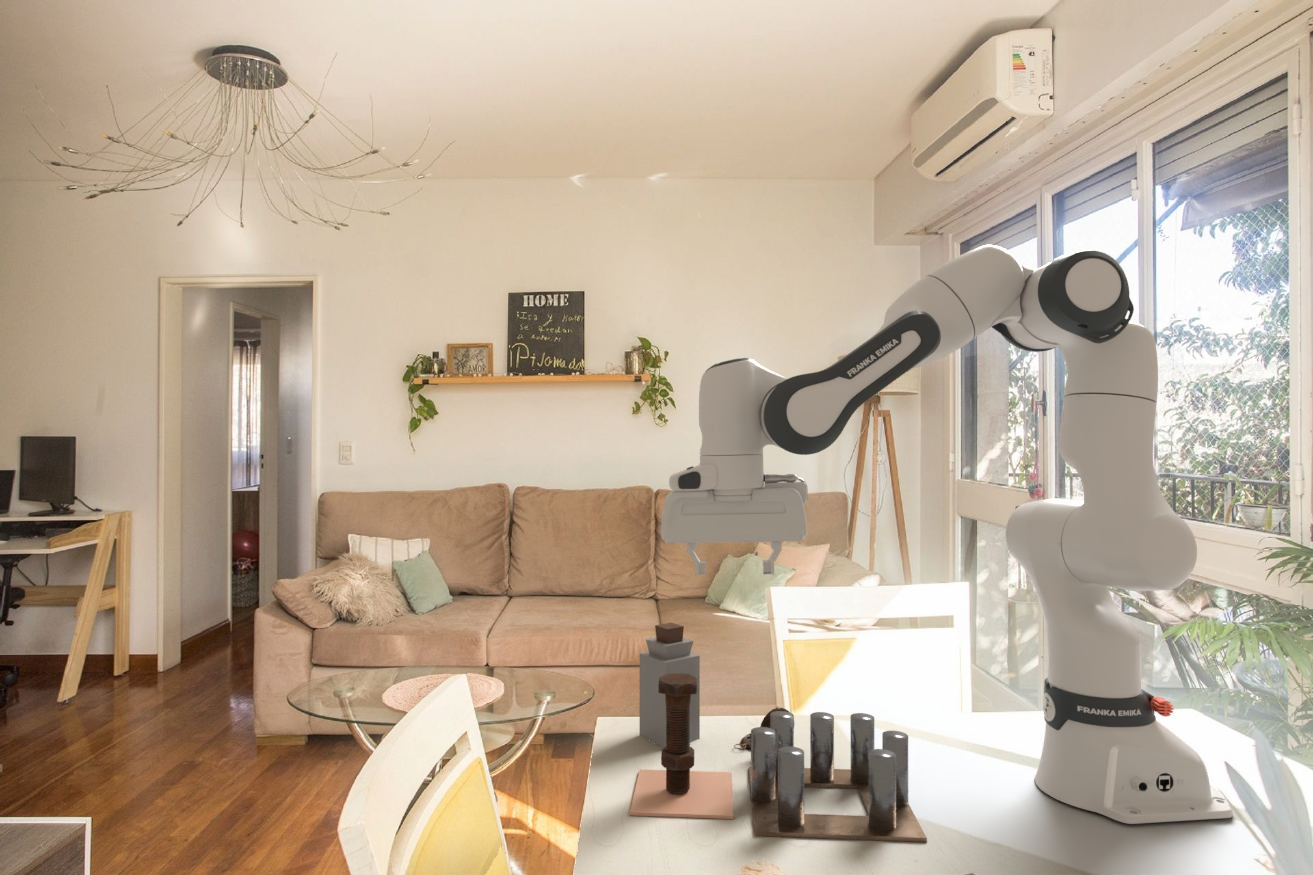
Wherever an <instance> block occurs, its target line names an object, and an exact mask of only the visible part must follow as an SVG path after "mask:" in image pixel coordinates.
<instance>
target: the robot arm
mask: <svg viewBox="0 0 1313 875" xmlns="http://www.w3.org/2000/svg"><path fill="white" fill-rule="evenodd" d="M1128 311H1129V313H1128ZM1127 314H1128V317H1127V318H1126V316H1127ZM1133 314H1134V304H1133V301H1132V300H1131V297H1130V286H1129V282H1128V278H1127V276H1126V274H1125V271H1124V269H1123V268H1122V266H1121V265H1120V263H1119V262H1118V261H1117V260H1116V259H1114V258H1113V257H1112V256H1111V255H1110V254H1107V253H1105V252H1103V251H1100V250H1090V249H1085V250H1084V249H1083V250H1076V251H1071V252H1068V253H1064V254H1062V255H1060V256H1058V257H1056V258H1054V259H1053V260H1052V261H1050V262H1048V263H1047V264H1044V265H1043V266H1041V267H1039V268H1037V269H1035V270H1033V269H1030V268H1026V267H1024V266H1023V265H1021V263H1020V262H1019V260H1018V259H1017V258H1016V257H1015V256H1014V254H1012V253H1011V252H1010V251H1009V250H1007V249H1006V248H1003V247H1001V246H998V245H993V244H986V245H980V246H978V247H976V248H973V249H971V250H968V251H967V252H964V253H962V254H961V255H958V256H956V257H954V258H953V259H950V260H949V261H947V262H945V263H943V264H941V265H939V267H937V268H935V269H934V270H932V271H931V272H929V273H928V274H926V275H925V276H923V277H921V278H920V279H919V280H918V281H916V282H915V283H913V284H912V285H911V286H910V287H908V288H907V289H906V290H905V291H904V292H903V293H902V294H901V295H900V296H899V297H897V299H895V301H893V303H891V305H890V306H889V307H888V308H887V309H886V312H885V314H884V319H883V320H884V321H883V324H882V326H881V327H880V328H879V329H878V330H877V331H876V332H875V334H873V335H872V336H871V337H870V338H869V339H867V340H866V341H865V342H863V343H861V344H860V345H859V346H857V347H856V348H855V349H853V350H852V351H850V352H849V353H848V354H846V355H845V356H843V357H842V358H840V359H839V360H838V361H836V362H835V363H834V364H832V365H829V367H827V368H825V369H822V370H819V371H815V372H809V373H803V374H799V375H795V376H792V377H787V376H784V375H781V374H778V373H777V372H774V371H772V370H770V369H768V368H766V367H764V366H763V365H761V364H760V363H758V362H757V360H755V359H753V358H750V357H741V358H740V357H739V358H733V359H727V360H724V361H721V362H717V363H715V364H712V365H711V366H709V367H708V368H707V369H706V370H705V372H703V374H702V376H701V379H700V384H699V392H698V394H699V395H698V425H699V428H700V432H701V439H702V440H701V446H700V449H699V464H698V465H695V466H693V465H692V466H689V467H687V468H686V469H683V470H680V471H677V472H674V473H673V474H671V475H670V476H669V478H668V485H669V488H670V490H672V491H670V492H669V493H668V494H667V496H666V497H665V500H664V503H663V507H662V508H663V509H662V515H661V526H660V527H661V528H660V531H661V532H660V534H661V535H660V536H661V539H662V540H663V542H665V543H666V544H686V552H687V554H688V555H689V557H690V559H691V560H692V562H693V563H694V564H695V565H694V568H695V569H694V570H695V571H694V572H695V576H706V575H707V569H706V568H707V563H706V562H707V561H706V560H700V558H699V557H698V555H697V553H696V552H697V550H698V544H709V543H710V544H715V543H716V544H717V543H725V544H726V543H767V542H768V543H769V542H770V544H769V545H770V549H771V550H772V552H771V554H770V556H769V558H768V559H762V574H763V575H775V562H776V561H777V559H778V557H779V555H780V554H781V552H782V550H783V549H782V547H783V546H782V542H784V543H785V542H802V541H803V540H804V539H805V538H806V536H807V535H808V526H807V516H806V512H805V505H806V503H807V501H808V497H809V496H808V490H809V489H808V484H807V483H806V481H805V480H804V479H803V478H802V477H799V476H797V475H796V474H794V473H787V474H775V473H773V474H764V447H766V446H769V445H771V446H775V447H776V448H777V447H778V448H780V449H783V450H784V451H785V452H788V453H791V454H795V455H803V456H805V455H806V456H808V455H813V454H817V453H820V452H822V451H824V450H826V449H827V448H829V447H830V446H831V445H833V444H834V442H836V440H837V439H838V438H839V436H840V435H841V434H842V432H843V430H844V429H845V427H846V426H847V424H848V422H849V420H850V419H851V417H852V416H853V414H854V413H855V411H857V409H859V408H860V407H861V406H862V405H863V404H865V403H866V402H868V400H871V398H873V397H874V396H876V395H877V394H878V393H880V392H881V391H882V390H884V389H885V388H887V387H888V386H889V385H891V384H893V382H895V381H896V380H898V379H899V378H900V377H902V376H903V375H905V374H906V373H908V372H910V371H912V370H914V369H916V368H920V367H924V366H927V365H929V364H932V363H935V362H936V361H939V360H940V359H943V358H945V357H947V356H948V355H950V354H952V353H954V352H955V351H957V350H960V348H963V347H964V346H966V345H967V344H968V343H970V342H971V341H973V340H975V339H976V338H977V337H978V336H981V334H983V333H984V332H985V331H987V330H988V329H990V328H992V329H993V330H994V331H995V332H998V333H999V334H1000V335H1001V336H1002V337H1003V338H1004V339H1005V341H1007V342H1008V343H1009V344H1011V345H1012V346H1014V347H1015V348H1017V349H1019V350H1022V351H1025V352H1033V353H1034V352H1035V353H1036V352H1037V353H1038V352H1039V353H1040V352H1046V351H1047V352H1048V351H1050V350H1054V349H1056V348H1058V347H1059V350H1060V352H1061V353H1062V355H1063V358H1064V361H1065V366H1066V374H1067V375H1066V382H1065V388H1064V394H1063V404H1062V409H1061V410H1062V411H1061V417H1060V418H1061V419H1060V428H1059V436H1058V443H1057V445H1058V447H1057V448H1058V452H1059V455H1060V457H1061V458H1062V460H1063V461H1064V462H1065V463H1066V464H1068V465H1069V466H1070V467H1071V468H1073V469H1074V470H1075V472H1077V474H1078V476H1079V478H1080V482H1081V484H1082V489H1083V500H1082V499H1081V500H1079V499H1071V498H1070V499H1068V498H1067V499H1066V498H1057V497H1056V498H1055V497H1054V498H1046V499H1045V498H1044V499H1039V500H1034V501H1028V502H1024V503H1022V504H1021V505H1019V506H1018V507H1016V508H1015V509H1014V510H1013V511H1012V513H1011V514H1010V516H1009V518H1008V520H1007V523H1006V528H1005V543H1006V546H1007V549H1008V551H1009V553H1010V554H1011V556H1012V558H1014V559H1015V560H1016V561H1017V563H1018V564H1019V565H1020V566H1021V567H1022V568H1023V569H1024V571H1025V572H1026V574H1027V575H1028V578H1029V579H1030V581H1031V584H1032V586H1033V588H1034V590H1035V593H1036V596H1037V598H1038V601H1039V604H1040V606H1041V610H1042V614H1043V619H1044V624H1045V632H1046V653H1047V656H1046V658H1047V660H1046V661H1047V677H1046V678H1045V679H1044V682H1043V684H1044V685H1043V696H1042V698H1043V699H1042V703H1043V704H1042V705H1043V707H1042V710H1043V715H1044V721H1045V730H1044V736H1043V737H1044V739H1043V745H1042V750H1041V755H1040V756H1041V757H1040V759H1039V764H1038V767H1037V770H1036V773H1035V775H1034V783H1035V785H1036V786H1037V787H1038V788H1039V789H1040V791H1042V792H1043V793H1045V794H1046V795H1049V797H1051V798H1054V799H1056V800H1057V801H1060V802H1062V803H1065V804H1068V805H1069V806H1073V807H1076V808H1079V809H1083V810H1086V811H1090V812H1094V813H1098V814H1100V815H1103V816H1106V817H1108V818H1110V819H1112V820H1114V821H1117V822H1120V823H1124V824H1129V825H1130V824H1131V825H1134V824H1136V825H1137V824H1152V823H1165V822H1166V823H1168V822H1170V823H1171V822H1183V821H1197V820H1201V821H1202V820H1217V819H1218V820H1219V819H1229V818H1233V810H1231V809H1230V807H1229V806H1228V805H1227V802H1226V801H1225V799H1223V797H1222V796H1221V794H1222V793H1221V792H1220V791H1219V790H1218V789H1216V788H1215V787H1213V786H1212V785H1211V784H1210V779H1209V774H1208V770H1207V767H1206V764H1205V762H1204V761H1203V759H1202V757H1201V756H1200V754H1199V752H1197V751H1195V749H1194V748H1193V747H1191V746H1190V745H1189V744H1187V743H1186V742H1185V741H1184V740H1182V739H1181V738H1180V737H1179V736H1177V735H1176V734H1175V733H1174V732H1172V731H1171V730H1170V729H1169V728H1168V727H1166V726H1165V725H1164V724H1162V723H1161V722H1160V721H1158V720H1157V716H1156V715H1155V712H1156V713H1157V714H1158V715H1160V716H1162V717H1170V716H1171V715H1172V714H1173V713H1174V711H1173V710H1175V708H1174V705H1173V704H1172V703H1171V702H1170V701H1168V700H1166V699H1165V698H1163V697H1161V696H1154V695H1153V694H1151V693H1149V692H1147V691H1146V690H1144V689H1142V653H1141V652H1142V645H1141V644H1142V639H1141V635H1140V633H1139V630H1138V628H1137V627H1136V625H1135V624H1134V623H1133V622H1132V621H1131V620H1130V618H1128V617H1127V616H1126V615H1124V613H1123V612H1122V611H1121V610H1120V609H1119V608H1118V606H1117V605H1116V603H1115V601H1114V600H1113V597H1112V595H1111V593H1110V589H1109V588H1115V589H1120V590H1126V591H1132V592H1155V591H1156V592H1157V591H1159V592H1160V591H1170V590H1174V589H1177V588H1179V587H1180V586H1181V585H1182V584H1183V583H1184V582H1185V581H1186V580H1187V579H1188V578H1189V577H1190V576H1191V574H1192V572H1193V570H1194V568H1195V566H1196V563H1197V559H1198V548H1197V547H1198V546H1197V542H1196V539H1195V538H1196V537H1195V536H1194V533H1193V531H1192V530H1191V528H1190V526H1189V525H1188V523H1187V522H1186V521H1185V520H1184V519H1183V518H1181V517H1180V516H1179V515H1178V513H1176V512H1175V510H1174V509H1172V507H1171V506H1170V505H1169V503H1168V501H1167V500H1166V498H1165V497H1164V495H1163V492H1162V489H1161V488H1160V486H1159V485H1160V484H1159V482H1158V479H1157V476H1156V472H1155V466H1154V454H1153V453H1154V436H1155V435H1154V434H1155V425H1156V424H1155V422H1156V414H1157V413H1156V411H1157V404H1158V403H1157V402H1158V392H1159V366H1158V363H1159V362H1158V352H1157V344H1156V340H1155V339H1156V338H1155V336H1154V335H1153V333H1152V331H1150V329H1149V328H1147V327H1146V326H1144V325H1142V324H1140V323H1138V322H1135V321H1132V320H1131V319H1132V317H1133ZM1219 792H1220V793H1221V794H1220V793H1219Z"/></svg>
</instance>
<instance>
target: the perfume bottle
mask: <svg viewBox="0 0 1313 875" xmlns="http://www.w3.org/2000/svg"><path fill="white" fill-rule="evenodd" d="M654 626H655V627H654V628H655V637H651V638H645V642H646V646H647V648H648V651H645V652H639V736H640V737H641V738H644V739H645V738H646V739H645V740H647V741H649V740H650V741H649V742H650V743H652V742H653V744H654V743H655V744H654V745H656V746H657V747H660V748H661V747H662V748H661V749H663V748H664V747H665V746H666V740H667V739H666V735H667V734H666V722H667V721H666V720H667V719H666V702H665V694H662V693H659V678H660V677H661V676H663V675H666V674H671V673H683V674H690V675H692V676H694V677H696V678H697V694H692V695H691V703H690V743H691V742H694V741H697V740H700V738H701V737H700V729H701V728H700V726H701V725H700V721H701V720H700V718H701V717H700V715H701V713H700V706H701V705H700V700H701V699H700V687H701V686H700V680H701V678H700V677H701V676H700V674H701V673H700V672H701V671H700V668H701V667H700V666H701V664H700V663H701V662H700V661H701V660H700V659H701V658H700V657H701V656H700V655H699V654H695V653H694V652H691V651H692V648H693V645H694V640H691V639H689V638H685V637H683V636H684V629H685V628H684V627H685V626H684V625H682V624H681V625H680V624H677V623H673V622H668V623H667V622H666V623H660V624H656V625H654Z"/></svg>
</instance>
